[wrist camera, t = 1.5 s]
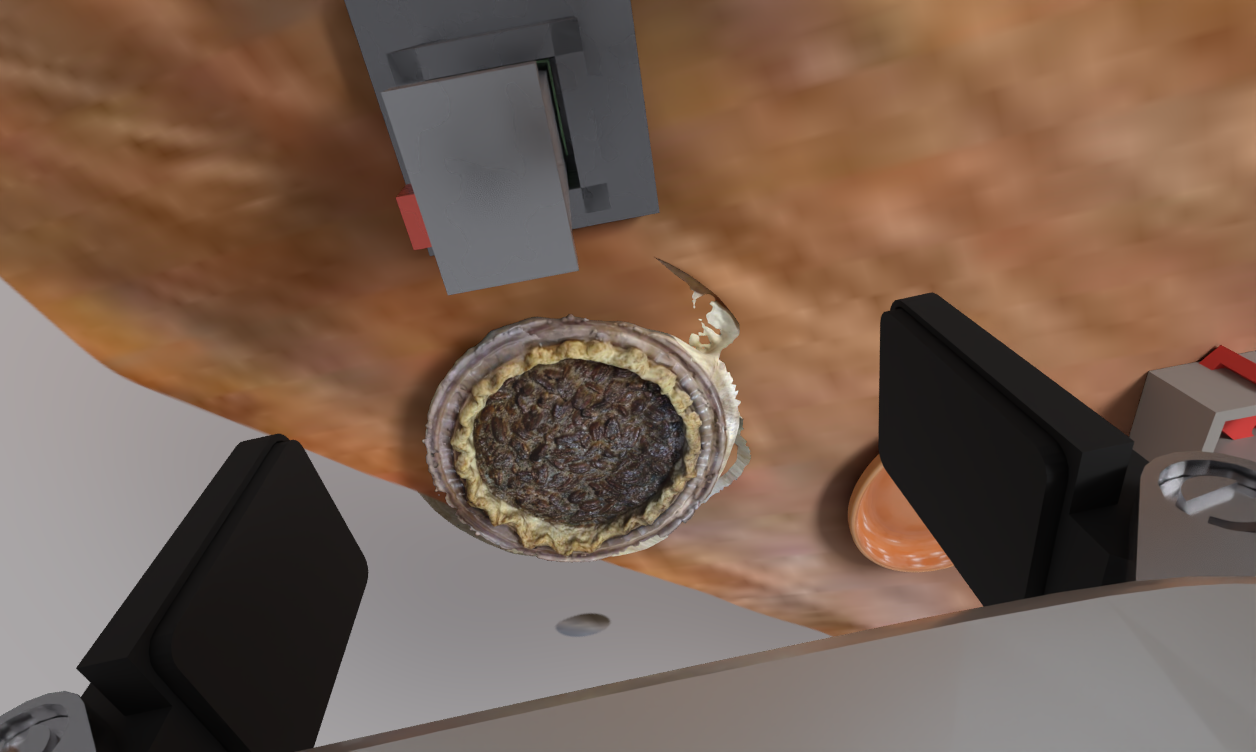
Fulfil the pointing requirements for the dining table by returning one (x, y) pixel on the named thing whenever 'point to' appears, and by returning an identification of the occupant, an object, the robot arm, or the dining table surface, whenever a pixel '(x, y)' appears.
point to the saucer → (891, 525)
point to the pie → (584, 434)
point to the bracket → (1243, 368)
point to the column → (488, 173)
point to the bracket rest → (1193, 411)
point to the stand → (520, 32)
